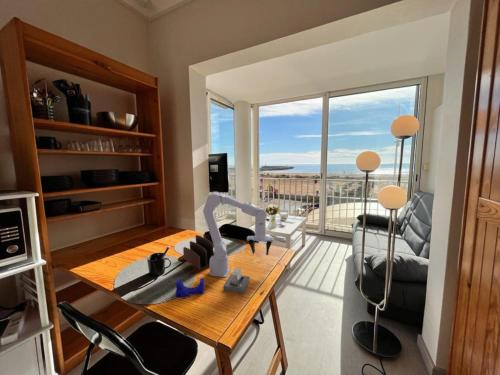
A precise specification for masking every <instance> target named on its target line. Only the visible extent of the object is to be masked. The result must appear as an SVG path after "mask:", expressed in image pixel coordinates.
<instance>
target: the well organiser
mask: <svg viewBox="0 0 500 375" xmlns="http://www.w3.org/2000/svg"><path fill="white" fill-rule="evenodd" d="M241 276H242V282H241V284H240V286H239V287H238V286H232V279H231V274H230V275H229V276H228V277H227V279H226V280H225V282H224V283H223V287H222V288H223V292H224V291H226V292H231V293H237V294H245V292H246V290H247V288H248V286H249V283H250V281H251V280H250V279H251V278H250V276H246V275H241Z"/></svg>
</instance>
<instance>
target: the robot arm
mask: <svg viewBox="0 0 500 375" xmlns="http://www.w3.org/2000/svg"><path fill="white" fill-rule="evenodd" d="M226 204H227V205H230V206H233V207H234V208H235V207H236V208H238V209H241V210H240V211H241V212H242V213H244V214H245V215H249V216H251V217H254V220H255V221H254V235H248V236H247V237H246V241H248V245H249V247H250V248H251V253H252V254H255V251H256V250H255V248H256V247H255V246H256V245H255V244H256V242H258V243H260V242H264V243H265V244H266V245H265V247H266V248H265V249H266V252H265V254H266V256H268V255H269V251H270V248H271V246H272V244H274V242H275V238H273V237H270V236H269V237H268V236H267V235H266V233H267V232H266V230H267V228H266V223H267V222H266V218H267V216H268V215H267V212H266V211H265V209H264V208H263V207H261V206H259V205H255V204H253V203H252V201H245V202H242V201H240V200H238V199H235V198H234V197H230V196H229V195H227V194H224V193H222V192H219V191H212V192H211V193H210V194H209V195H208V196H207V199H206V201H205V203H204V207H203V210H202V213H203V216H204V219H205V222H206V225H207V228H208V231H209V234H210V236H211V240H212V241H211V242H212V243H213V250H214V256H212V257H211V258H210V262H209V265H210V266H209V274H208V275H209V276H215V277H220V278H226V277H227V276H228V274H229V273H230V271H231V270H232V269H231V268H229V260H228V259H229V258H228V253H227V244H226V243H225V242H224V240H223V237H222V235H221V233H220V230H219V226H218V223H217V220H216V217H215V214H214V211H215V210H216V208H217V207H218V206H220V205H221V206H223V205H226Z"/></svg>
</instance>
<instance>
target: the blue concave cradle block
mask: <svg viewBox="0 0 500 375" xmlns="http://www.w3.org/2000/svg"><path fill="white" fill-rule="evenodd" d="M175 289H176V290H175V298H188V297H189V298H190V296H191V295H202V294H203V295H204V294H205V278H203V277H201V278H200V280H199V284H197V285H196V286H194V287H187V286H185V285H184V284H183V281H182V279H177V280H176V283H175Z"/></svg>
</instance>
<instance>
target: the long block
mask: <svg viewBox="0 0 500 375" xmlns="http://www.w3.org/2000/svg"><path fill="white" fill-rule="evenodd" d="M230 275H231V279H232V286H238V287H239V286H240V284H241V282H242V276H243V275H242V268H239V267H235V268H234V269H233V271H232V273H230Z"/></svg>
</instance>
